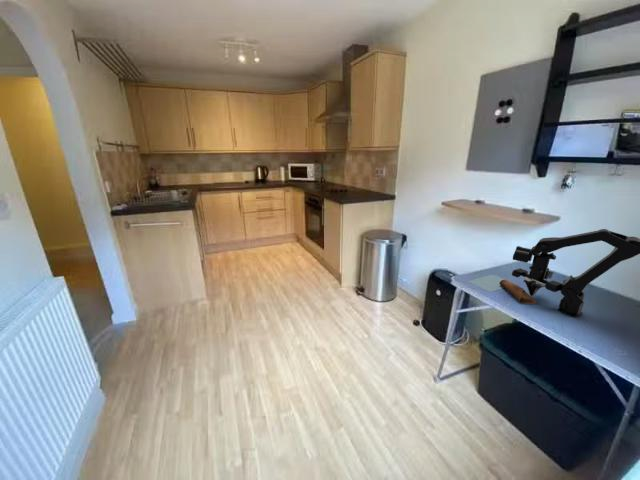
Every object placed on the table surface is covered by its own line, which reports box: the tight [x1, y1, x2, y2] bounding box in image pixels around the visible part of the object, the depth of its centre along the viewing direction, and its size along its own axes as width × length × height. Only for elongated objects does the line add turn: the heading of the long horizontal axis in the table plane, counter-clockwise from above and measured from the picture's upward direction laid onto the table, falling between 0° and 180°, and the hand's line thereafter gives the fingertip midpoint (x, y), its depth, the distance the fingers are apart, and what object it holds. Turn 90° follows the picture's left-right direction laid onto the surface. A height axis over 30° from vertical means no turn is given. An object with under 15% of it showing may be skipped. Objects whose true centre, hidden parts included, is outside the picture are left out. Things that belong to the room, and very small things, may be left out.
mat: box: [467, 273, 516, 293], centre depth 147 cm, size 13×20×1 cm, turn 113°
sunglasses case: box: [500, 279, 537, 305], centre depth 134 cm, size 18×7×7 cm
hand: (531, 295), depth 128 cm, fingers closed
